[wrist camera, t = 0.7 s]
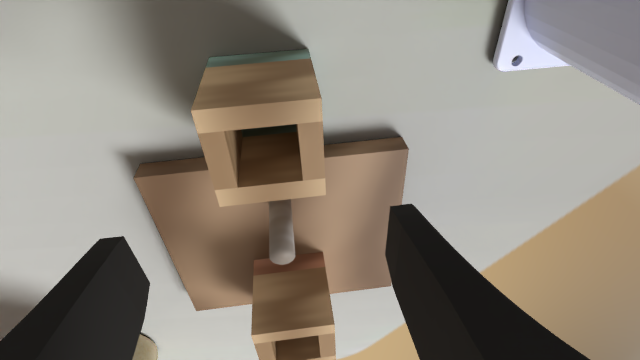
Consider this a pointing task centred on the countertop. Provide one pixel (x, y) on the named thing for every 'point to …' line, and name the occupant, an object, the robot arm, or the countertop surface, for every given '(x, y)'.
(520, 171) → the countertop surface
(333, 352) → the seated sleeve
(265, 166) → the sleeve
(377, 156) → the pin board
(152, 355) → the flower pot
